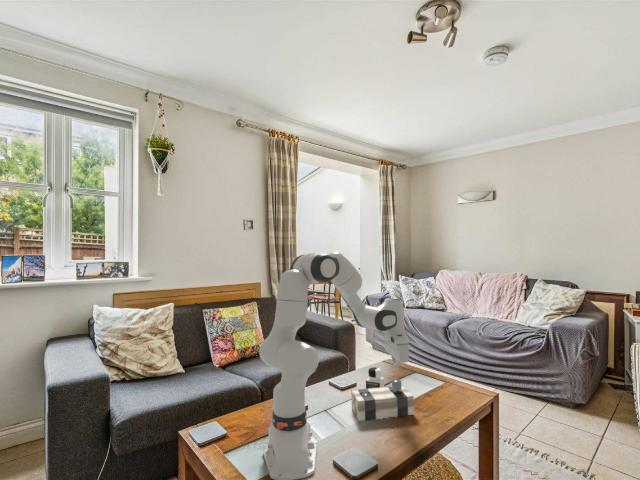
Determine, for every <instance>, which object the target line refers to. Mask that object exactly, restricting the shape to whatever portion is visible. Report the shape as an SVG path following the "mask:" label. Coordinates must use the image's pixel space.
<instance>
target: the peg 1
mask: <svg viewBox="0 0 640 480" xmlns="http://www.w3.org/2000/svg"><path fill="white" fill-rule="evenodd" d="M361 396H362V397H369V396H371V394H370V393H362V394H361Z"/></svg>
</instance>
